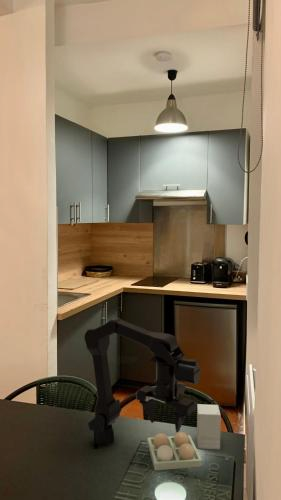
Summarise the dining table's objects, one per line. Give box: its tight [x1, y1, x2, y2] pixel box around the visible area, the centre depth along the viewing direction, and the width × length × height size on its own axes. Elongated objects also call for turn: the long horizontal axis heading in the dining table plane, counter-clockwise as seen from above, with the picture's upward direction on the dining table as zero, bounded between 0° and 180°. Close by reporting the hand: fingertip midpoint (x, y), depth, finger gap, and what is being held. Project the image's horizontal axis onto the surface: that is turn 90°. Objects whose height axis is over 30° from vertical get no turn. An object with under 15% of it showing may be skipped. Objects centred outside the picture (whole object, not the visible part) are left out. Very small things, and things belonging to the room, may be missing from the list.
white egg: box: [157, 445, 173, 462], centre depth 123 cm, size 5×5×5 cm
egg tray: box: [147, 434, 203, 471], centre depth 127 cm, size 14×14×3 cm
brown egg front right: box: [179, 443, 195, 460], centre depth 124 cm, size 5×5×5 cm
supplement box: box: [196, 403, 222, 450], centre depth 134 cm, size 7×7×13 cm
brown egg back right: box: [174, 431, 189, 448], centre depth 130 cm, size 5×5×5 cm
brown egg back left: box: [153, 432, 169, 449], centre depth 130 cm, size 5×5×5 cm
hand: (165, 427), depth 123 cm, fingers open, 9 cm apart
